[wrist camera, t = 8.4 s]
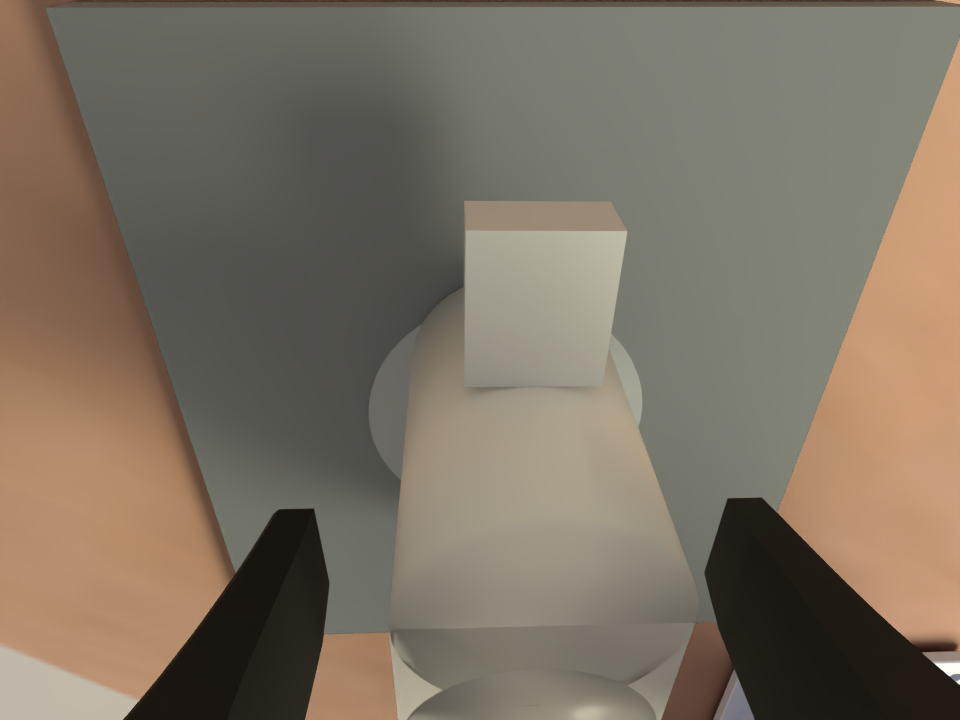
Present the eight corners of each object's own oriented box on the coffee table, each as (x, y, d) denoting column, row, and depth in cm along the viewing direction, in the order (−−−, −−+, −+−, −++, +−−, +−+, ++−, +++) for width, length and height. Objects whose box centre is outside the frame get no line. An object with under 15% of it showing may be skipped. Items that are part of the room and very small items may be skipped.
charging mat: (725, 597, 20) (736, 623, 19) (263, 611, 19) (255, 639, 18) (939, 0, 11) (976, 6, 10) (71, 2, 10) (41, 8, 9)
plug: (579, 525, 16) (635, 791, 11) (420, 527, 16) (406, 799, 11) (639, 147, 11) (795, 340, 6) (401, 146, 11) (359, 342, 6)
